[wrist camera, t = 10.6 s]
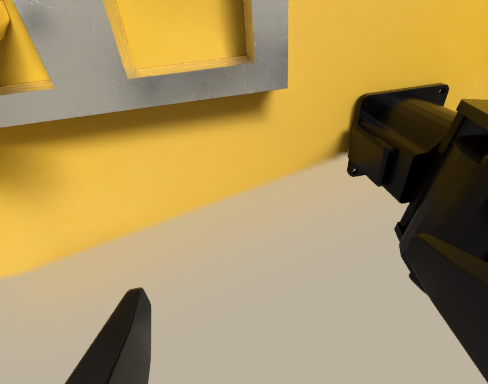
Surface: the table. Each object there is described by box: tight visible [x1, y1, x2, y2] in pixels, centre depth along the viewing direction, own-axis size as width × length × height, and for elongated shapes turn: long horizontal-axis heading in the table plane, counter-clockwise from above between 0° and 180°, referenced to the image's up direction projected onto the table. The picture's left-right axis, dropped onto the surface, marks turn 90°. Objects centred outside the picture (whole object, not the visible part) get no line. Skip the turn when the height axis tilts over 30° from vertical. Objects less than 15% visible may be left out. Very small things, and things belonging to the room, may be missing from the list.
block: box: [0, 0, 288, 128], centre depth 12 cm, size 20×10×2 cm, turn 95°
